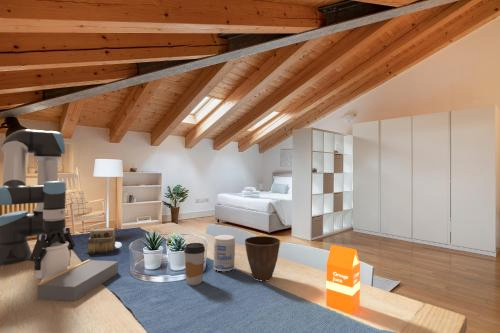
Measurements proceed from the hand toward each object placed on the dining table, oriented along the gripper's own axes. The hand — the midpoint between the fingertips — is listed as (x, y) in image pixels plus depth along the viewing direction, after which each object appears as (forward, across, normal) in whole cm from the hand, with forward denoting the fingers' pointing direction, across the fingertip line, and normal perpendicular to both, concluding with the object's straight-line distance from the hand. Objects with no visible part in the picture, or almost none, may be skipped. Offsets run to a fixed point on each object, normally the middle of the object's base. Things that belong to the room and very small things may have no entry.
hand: (53, 271), depth 114 cm
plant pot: (+4, +14, -84) cm, 85 cm away
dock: (+4, -2, -14) cm, 15 cm away
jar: (+4, 0, 0) cm, 4 cm away
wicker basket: (+4, +41, +8) cm, 42 cm away
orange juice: (+4, -6, -113) cm, 113 cm away
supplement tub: (+4, +22, -66) cm, 70 cm away
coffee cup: (+4, +6, -57) cm, 57 cm away
